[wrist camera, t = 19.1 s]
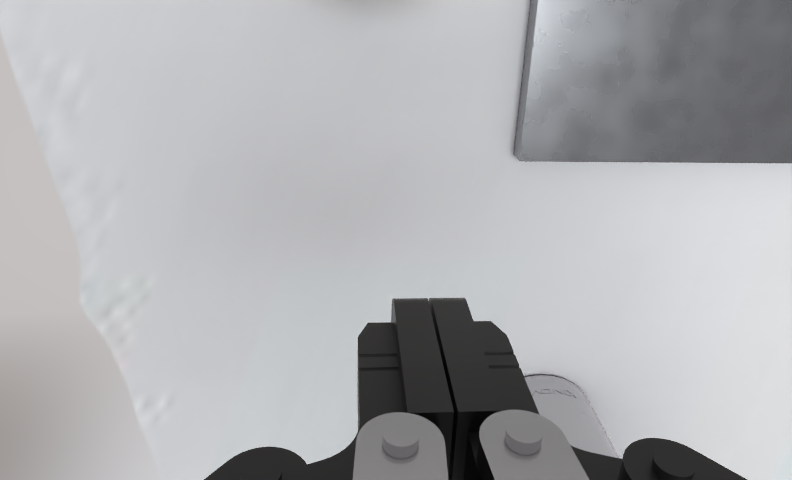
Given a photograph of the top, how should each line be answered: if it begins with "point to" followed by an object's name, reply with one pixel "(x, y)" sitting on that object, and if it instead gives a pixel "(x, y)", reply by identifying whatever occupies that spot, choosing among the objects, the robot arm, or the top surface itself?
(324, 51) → the top surface
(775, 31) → the panel
